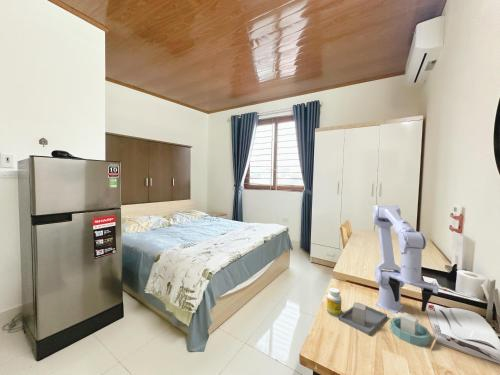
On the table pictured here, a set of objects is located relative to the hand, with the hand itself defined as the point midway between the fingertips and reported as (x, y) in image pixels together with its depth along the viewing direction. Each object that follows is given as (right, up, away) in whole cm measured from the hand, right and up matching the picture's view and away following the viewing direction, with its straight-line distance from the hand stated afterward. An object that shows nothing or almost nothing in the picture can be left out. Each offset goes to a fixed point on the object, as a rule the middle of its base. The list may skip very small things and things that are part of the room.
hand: (409, 305), depth 74 cm
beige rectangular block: (-1, -10, 0) cm, 10 cm away
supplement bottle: (-22, -10, +12) cm, 27 cm away
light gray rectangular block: (-15, -10, +6) cm, 19 cm away
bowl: (0, -10, 0) cm, 10 cm away
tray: (-12, -10, +8) cm, 18 cm away
